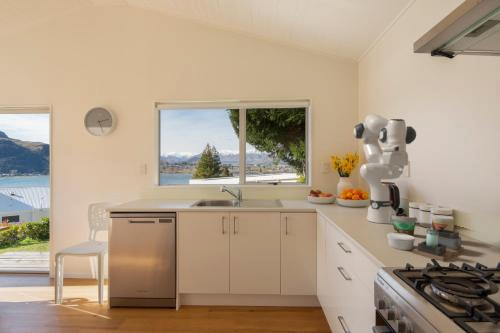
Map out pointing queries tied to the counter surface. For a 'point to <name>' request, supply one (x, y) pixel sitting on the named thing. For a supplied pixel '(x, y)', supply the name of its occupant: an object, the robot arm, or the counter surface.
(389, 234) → the ramekin
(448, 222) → the coffee cup
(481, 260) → the counter surface
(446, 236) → the dock station
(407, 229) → the food container
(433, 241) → the teal cylinder
